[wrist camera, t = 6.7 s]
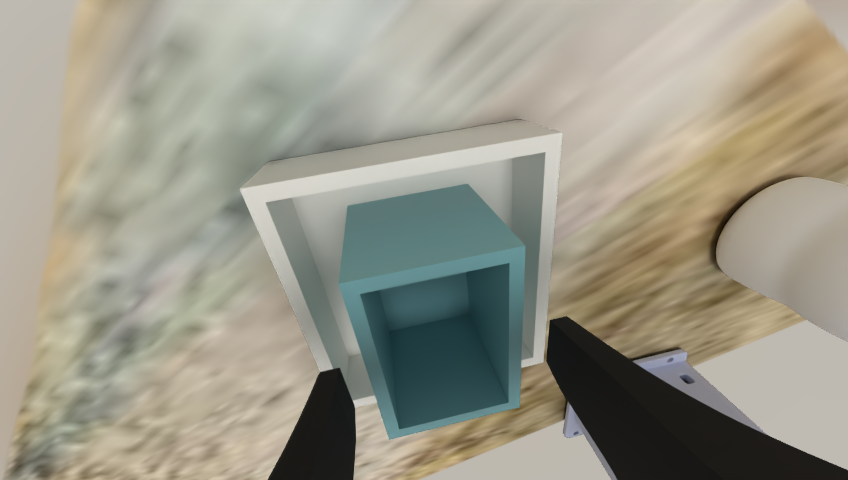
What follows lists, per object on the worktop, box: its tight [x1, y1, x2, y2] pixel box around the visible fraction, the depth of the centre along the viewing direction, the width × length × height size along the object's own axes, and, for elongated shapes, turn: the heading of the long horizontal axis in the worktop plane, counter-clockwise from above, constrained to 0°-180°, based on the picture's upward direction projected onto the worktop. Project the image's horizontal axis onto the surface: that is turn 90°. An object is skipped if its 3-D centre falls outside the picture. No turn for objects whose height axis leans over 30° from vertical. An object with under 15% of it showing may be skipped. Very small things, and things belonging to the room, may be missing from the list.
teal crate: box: [338, 184, 526, 440], centre depth 14 cm, size 6×8×6 cm
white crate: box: [240, 119, 563, 408], centre depth 15 cm, size 11×12×4 cm
